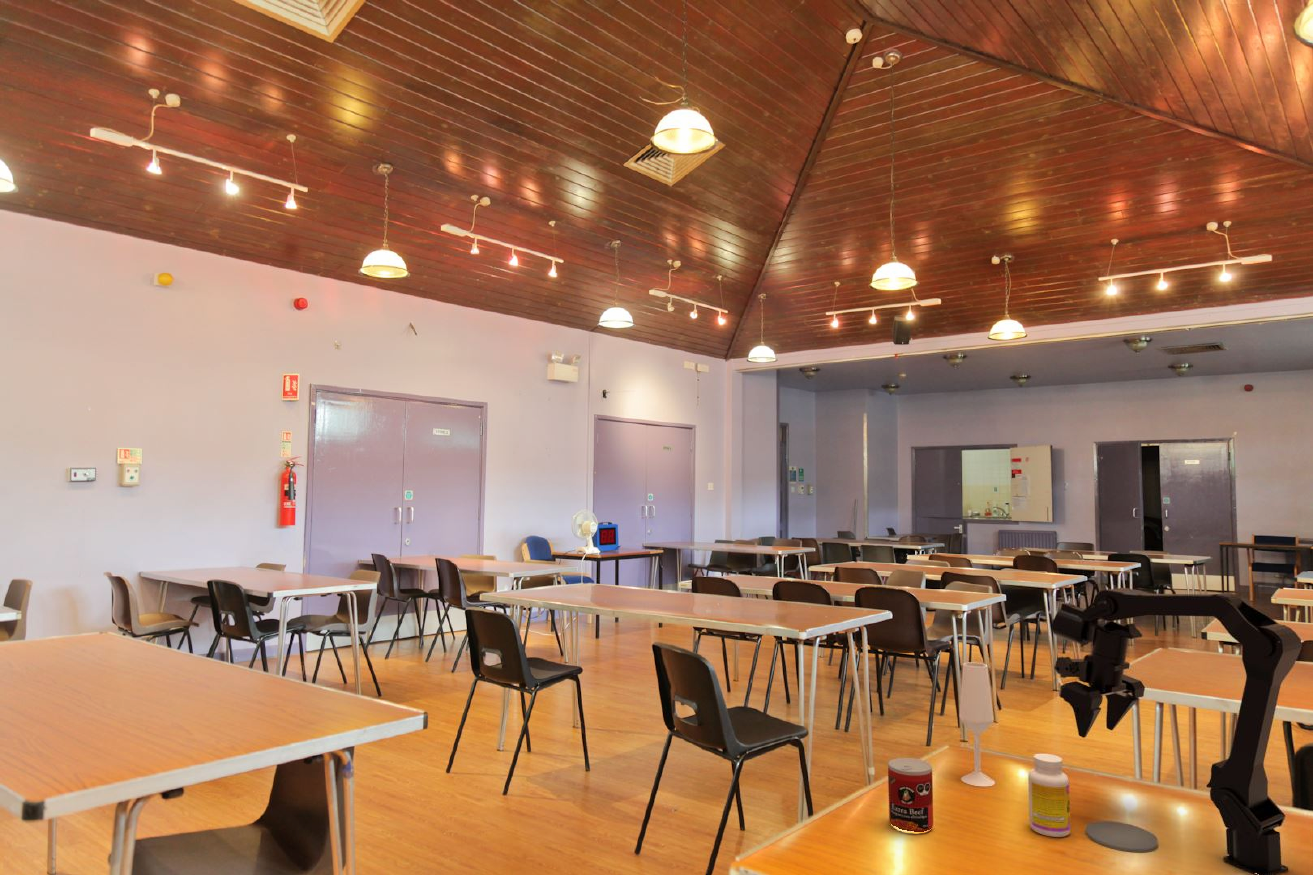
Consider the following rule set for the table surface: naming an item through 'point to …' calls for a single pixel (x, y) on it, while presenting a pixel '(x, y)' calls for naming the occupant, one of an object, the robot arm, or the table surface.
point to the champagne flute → (976, 714)
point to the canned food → (910, 794)
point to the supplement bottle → (1049, 797)
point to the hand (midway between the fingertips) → (1096, 732)
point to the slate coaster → (1121, 836)
